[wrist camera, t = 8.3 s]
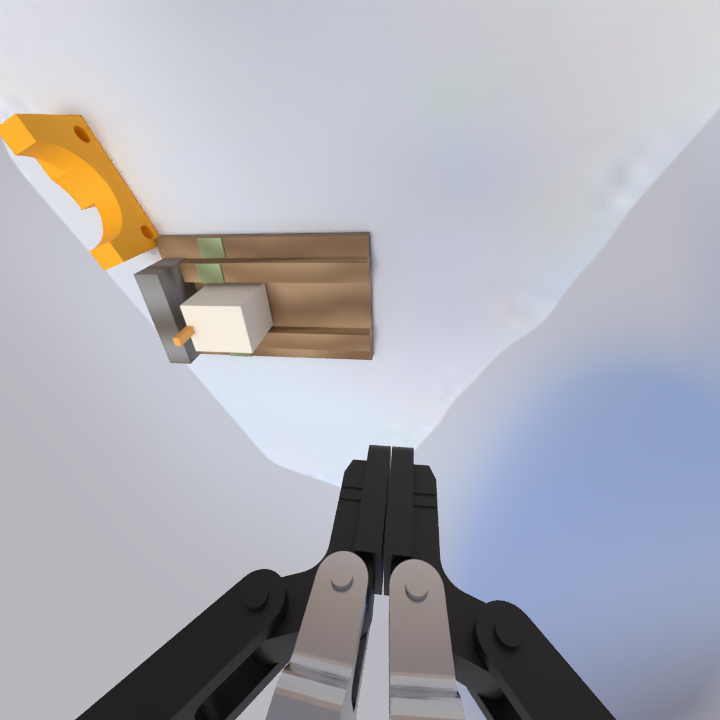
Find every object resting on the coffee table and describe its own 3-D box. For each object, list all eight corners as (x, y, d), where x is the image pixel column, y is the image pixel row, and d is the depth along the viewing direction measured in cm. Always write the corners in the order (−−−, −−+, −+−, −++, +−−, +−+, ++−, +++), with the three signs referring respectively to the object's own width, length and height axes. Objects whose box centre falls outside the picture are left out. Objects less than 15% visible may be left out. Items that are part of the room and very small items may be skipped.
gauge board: (161, 235, 37) (120, 253, 32) (369, 232, 34) (360, 251, 29) (201, 348, 45) (173, 377, 40) (373, 354, 42) (366, 386, 37)
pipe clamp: (51, 135, 33) (-19, 138, 28) (82, 115, 32) (15, 113, 27) (136, 255, 39) (91, 276, 34) (165, 242, 38) (124, 261, 32)
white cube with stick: (210, 281, 38) (164, 317, 31) (264, 281, 37) (228, 318, 30) (223, 323, 40) (182, 364, 33) (273, 324, 40) (242, 367, 33)
